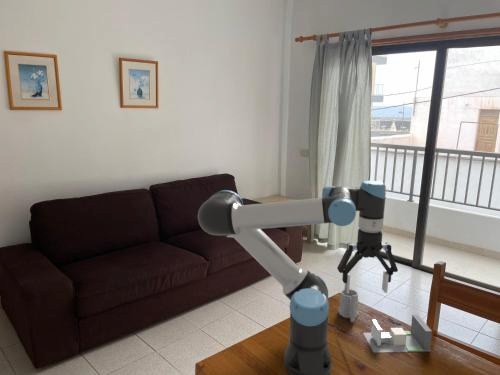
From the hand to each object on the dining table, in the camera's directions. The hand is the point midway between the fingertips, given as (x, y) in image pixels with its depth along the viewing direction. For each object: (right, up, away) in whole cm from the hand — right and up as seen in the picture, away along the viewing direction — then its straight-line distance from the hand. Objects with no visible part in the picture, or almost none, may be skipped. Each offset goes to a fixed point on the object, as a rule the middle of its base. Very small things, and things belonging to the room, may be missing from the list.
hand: (365, 291), depth 127 cm
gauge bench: (+12, -20, +5) cm, 23 cm away
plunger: (+7, -18, +4) cm, 20 cm away
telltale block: (+12, -18, +4) cm, 23 cm away
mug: (0, -16, +21) cm, 26 cm away
